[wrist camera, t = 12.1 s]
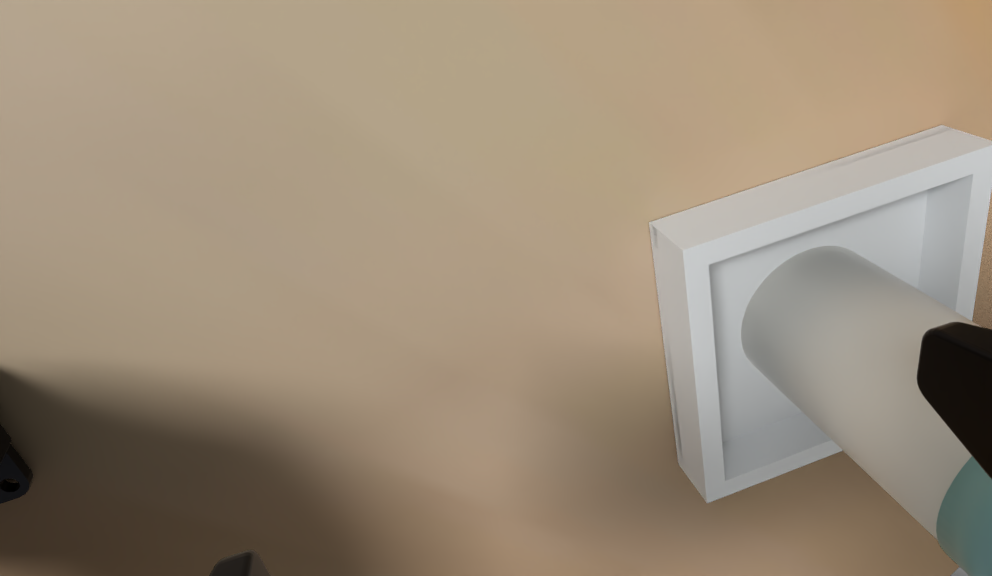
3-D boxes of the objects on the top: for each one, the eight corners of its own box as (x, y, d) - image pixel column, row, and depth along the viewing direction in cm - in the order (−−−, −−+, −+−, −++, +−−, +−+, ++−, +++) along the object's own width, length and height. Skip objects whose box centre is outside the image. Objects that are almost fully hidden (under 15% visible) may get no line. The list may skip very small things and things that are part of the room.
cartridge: (774, 402, 28) (1147, 770, 16) (713, 314, 25) (1111, 680, 13) (892, 312, 27) (1369, 622, 15) (844, 211, 25) (1383, 496, 13)
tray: (678, 463, 29) (707, 503, 27) (648, 222, 23) (682, 250, 21) (915, 373, 30) (959, 405, 28) (941, 124, 25) (998, 143, 23)
